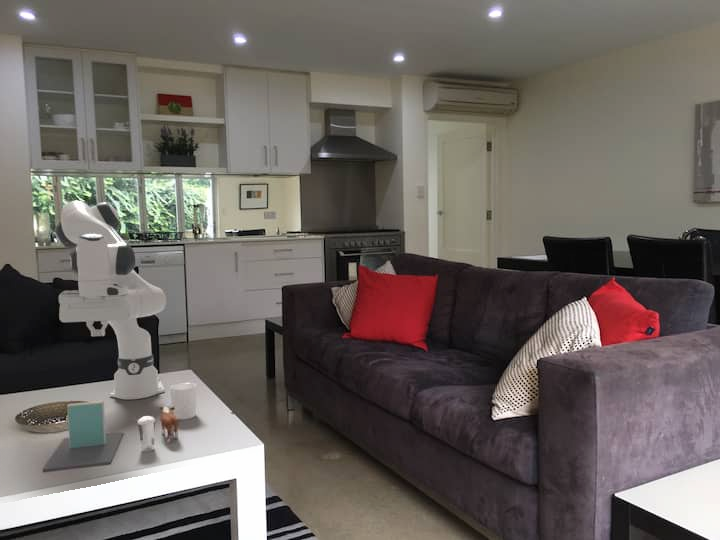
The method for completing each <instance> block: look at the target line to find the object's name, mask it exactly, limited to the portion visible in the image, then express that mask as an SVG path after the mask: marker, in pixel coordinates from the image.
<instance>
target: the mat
mask: <svg viewBox="0 0 720 540" xmlns="http://www.w3.org/2000/svg"><path fill="white" fill-rule="evenodd" d="M123 437H124V432H123V431H121V432H112V433H111V432H110V433H106V444H105V445H96V446H87V447H78V448H70V440H69V437H65V438H63V439H62V441H61V442H60V444H59V445H58V446H57V448H56V449H55V451H54V452H53V453H52V455H51V456H50V458H49V460H48V461H47V462H46V464H45V465H44V466H43V468H42V472H49V471H58V470H67V469H76V468H78V469H79V468H86V467H94V466H102V465H103V466H104V465H110V464H112V462H113V459H114V457H115V455H116V452H117V450H118V448H119V446H120V443H121V441H122V438H123Z"/></svg>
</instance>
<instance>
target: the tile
mask: <svg viewBox="0 0 720 540" xmlns="http://www.w3.org/2000/svg"><path fill="white" fill-rule="evenodd" d="M67 421H68V438H69V440H70V448H78V447H87V446H96V445H105V444H106V434H107V433H106V431H107V428H106V414H105V401H104V400H98V401H97V400H96V401H87V402H86V401H85V402H74V403H72V402H71V403H68V404H67Z"/></svg>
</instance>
